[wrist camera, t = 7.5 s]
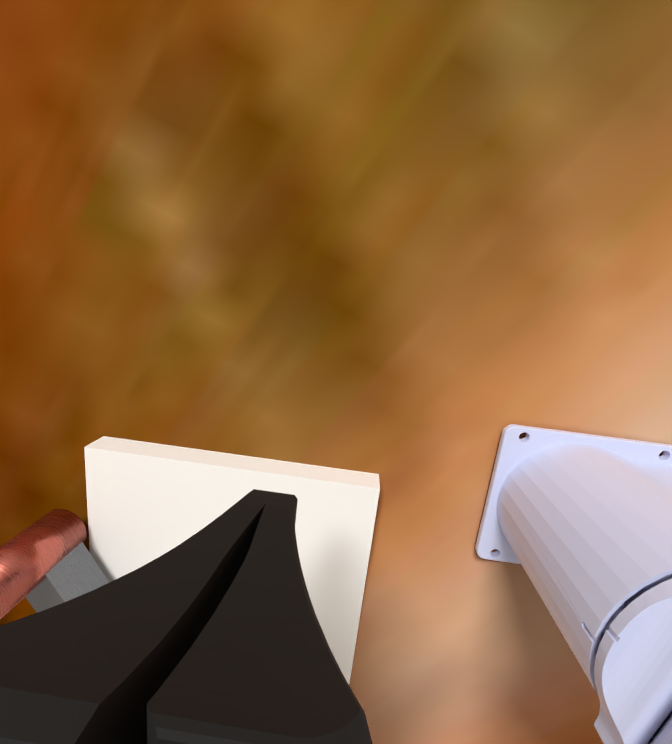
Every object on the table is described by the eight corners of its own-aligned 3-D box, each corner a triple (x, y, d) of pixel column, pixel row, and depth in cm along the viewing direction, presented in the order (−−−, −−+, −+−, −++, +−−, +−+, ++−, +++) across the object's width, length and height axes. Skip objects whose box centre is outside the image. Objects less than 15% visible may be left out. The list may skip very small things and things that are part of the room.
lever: (250, 762, 23) (221, 887, 19) (203, 775, 24) (163, 899, 19) (76, 499, 20) (-16, 567, 15) (26, 521, 20) (-79, 593, 16)
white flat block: (378, 474, 20) (383, 524, 16) (334, 758, 25) (329, 856, 21) (103, 436, 21) (35, 474, 17) (113, 720, 26) (63, 807, 22)
